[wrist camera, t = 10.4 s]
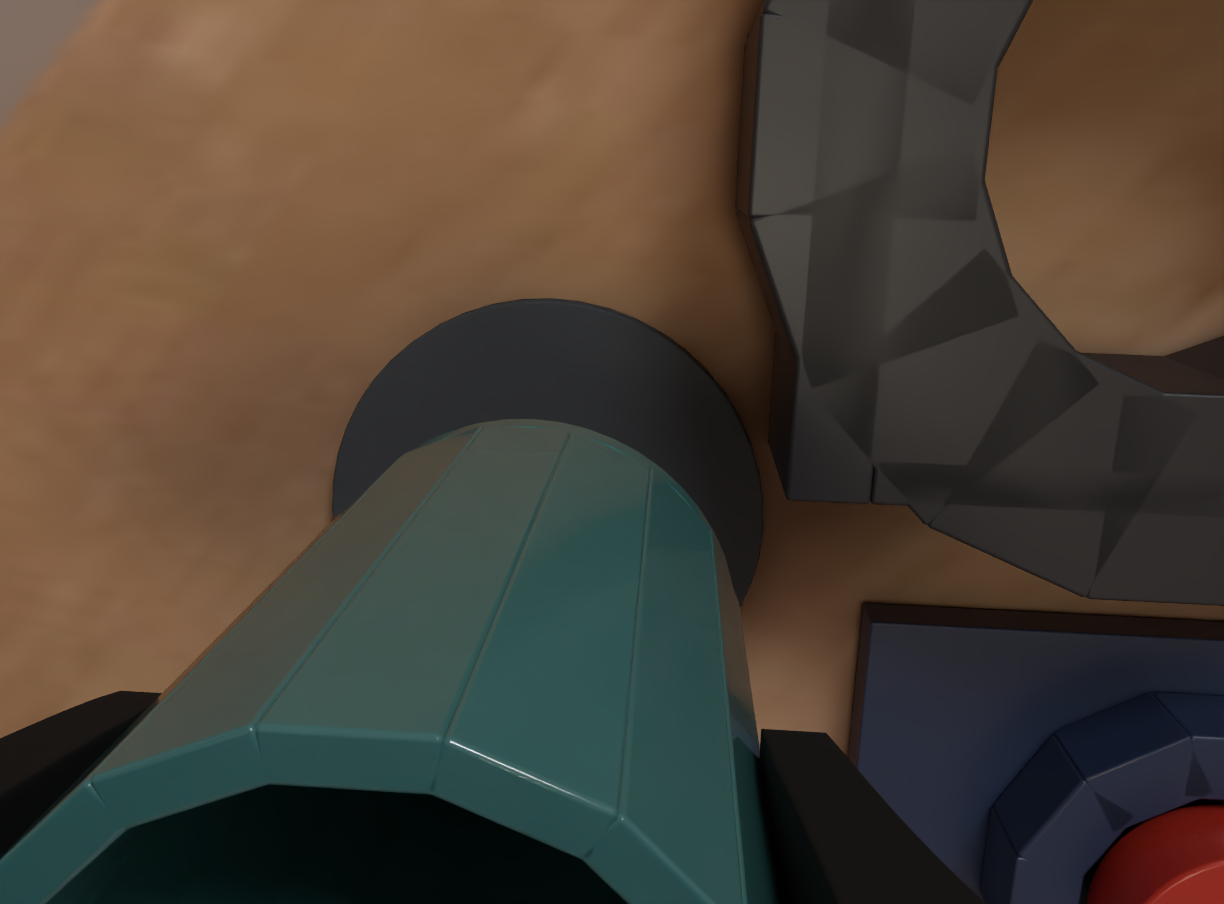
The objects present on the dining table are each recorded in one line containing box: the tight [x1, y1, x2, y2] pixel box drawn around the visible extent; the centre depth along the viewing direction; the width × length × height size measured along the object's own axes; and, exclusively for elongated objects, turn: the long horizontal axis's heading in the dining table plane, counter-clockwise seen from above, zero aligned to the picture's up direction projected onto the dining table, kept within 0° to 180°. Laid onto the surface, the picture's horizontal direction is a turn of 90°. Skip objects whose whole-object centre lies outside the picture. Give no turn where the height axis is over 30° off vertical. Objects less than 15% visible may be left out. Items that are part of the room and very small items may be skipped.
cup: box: [0, 419, 781, 904], centre depth 11 cm, size 6×6×8 cm
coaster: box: [333, 299, 763, 606], centre depth 20 cm, size 8×8×1 cm
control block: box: [848, 604, 1224, 904], centre depth 20 cm, size 12×9×2 cm
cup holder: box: [735, 0, 1224, 606], centre depth 16 cm, size 14×14×4 cm
